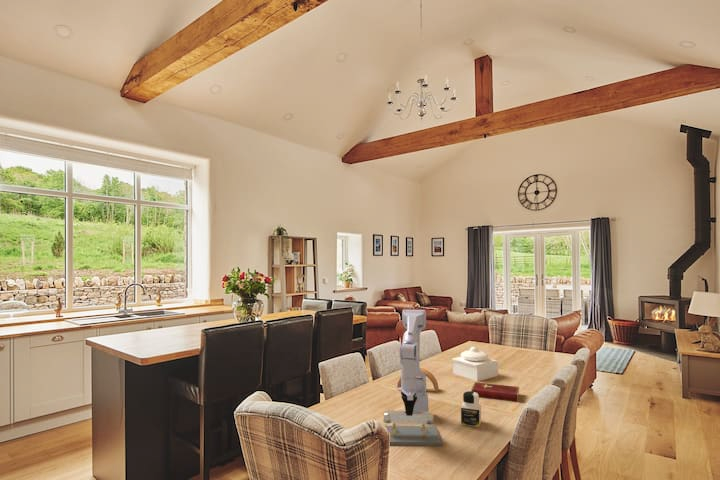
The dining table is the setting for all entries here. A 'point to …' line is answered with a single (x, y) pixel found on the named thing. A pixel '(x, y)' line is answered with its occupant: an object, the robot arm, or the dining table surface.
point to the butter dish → (475, 365)
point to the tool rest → (414, 435)
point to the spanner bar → (408, 417)
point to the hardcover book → (496, 391)
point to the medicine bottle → (471, 409)
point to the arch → (428, 377)
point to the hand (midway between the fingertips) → (408, 413)
